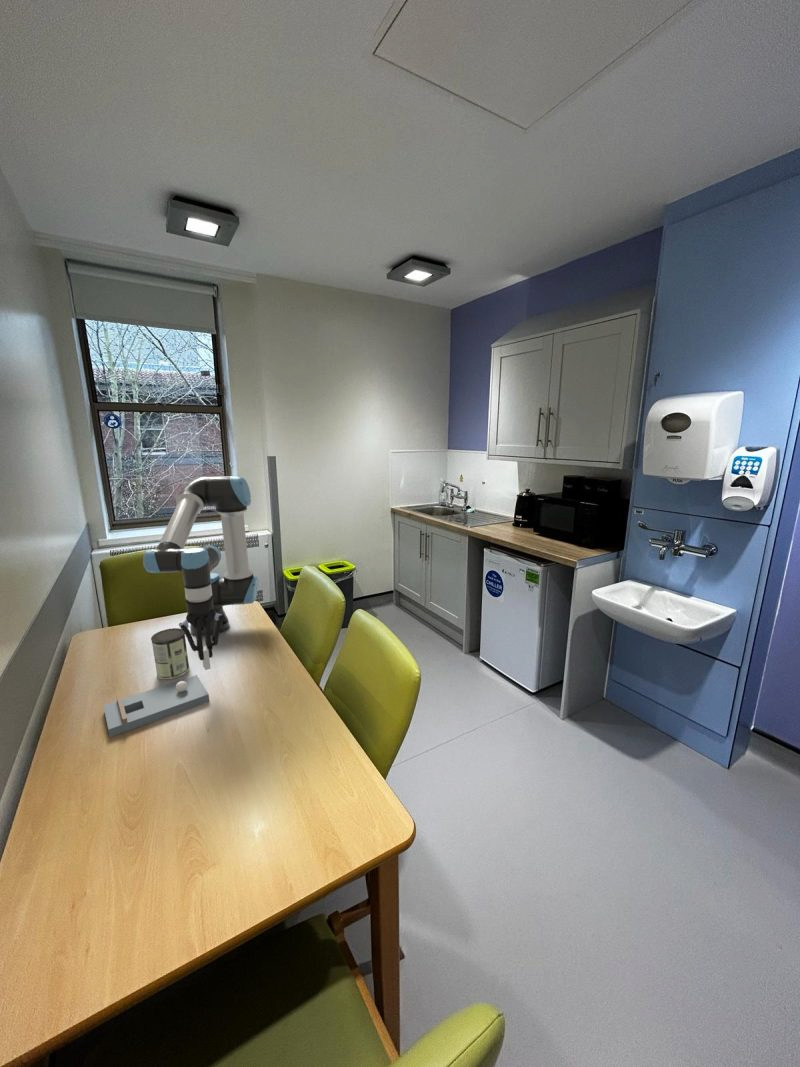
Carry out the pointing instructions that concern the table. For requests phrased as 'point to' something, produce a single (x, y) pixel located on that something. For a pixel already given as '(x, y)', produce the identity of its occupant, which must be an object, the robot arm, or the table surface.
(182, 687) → the ball
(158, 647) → the coffee can
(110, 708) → the deck
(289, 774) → the table surface
